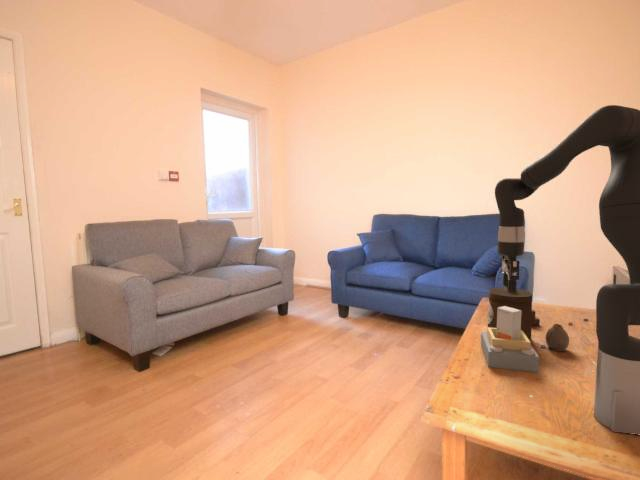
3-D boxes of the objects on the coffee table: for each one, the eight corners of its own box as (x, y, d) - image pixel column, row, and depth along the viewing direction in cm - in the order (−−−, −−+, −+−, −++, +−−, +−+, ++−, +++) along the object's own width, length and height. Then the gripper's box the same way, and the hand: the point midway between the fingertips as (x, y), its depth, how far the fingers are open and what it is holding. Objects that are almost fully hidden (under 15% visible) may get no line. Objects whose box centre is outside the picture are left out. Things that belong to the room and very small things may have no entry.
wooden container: (495, 327, 143) (497, 276, 141) (536, 337, 133) (538, 281, 130) (481, 337, 133) (482, 282, 131) (523, 348, 123) (526, 288, 120)
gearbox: (538, 372, 106) (539, 347, 105) (488, 366, 110) (488, 342, 109) (523, 348, 123) (524, 327, 122) (480, 344, 127) (481, 323, 126)
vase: (572, 353, 118) (574, 329, 117) (550, 352, 119) (551, 328, 118) (562, 345, 125) (564, 322, 124) (541, 344, 126) (542, 321, 125)
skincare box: (495, 341, 117) (496, 307, 116) (503, 339, 119) (505, 305, 118) (512, 348, 112) (513, 312, 110) (520, 345, 113) (522, 310, 112)
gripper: (529, 242, 104) (527, 294, 106) (518, 238, 118) (516, 284, 119) (502, 242, 107) (500, 293, 108) (494, 237, 120) (493, 283, 122)
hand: (509, 288), depth 114 cm, fingers open, 8 cm apart
